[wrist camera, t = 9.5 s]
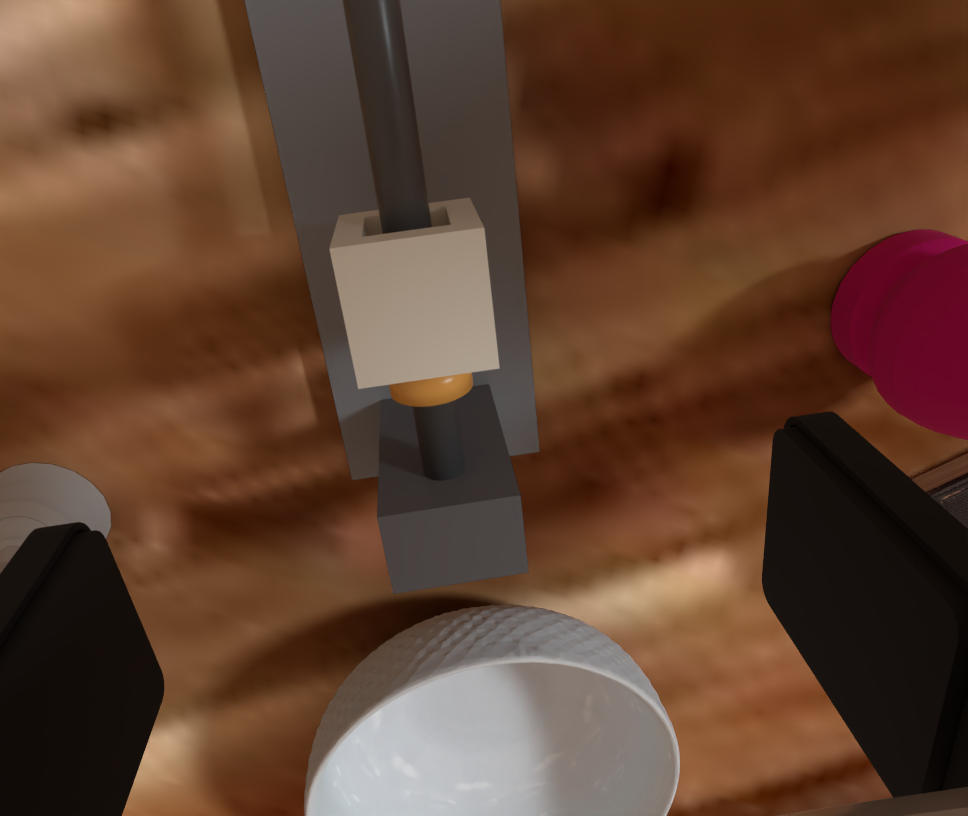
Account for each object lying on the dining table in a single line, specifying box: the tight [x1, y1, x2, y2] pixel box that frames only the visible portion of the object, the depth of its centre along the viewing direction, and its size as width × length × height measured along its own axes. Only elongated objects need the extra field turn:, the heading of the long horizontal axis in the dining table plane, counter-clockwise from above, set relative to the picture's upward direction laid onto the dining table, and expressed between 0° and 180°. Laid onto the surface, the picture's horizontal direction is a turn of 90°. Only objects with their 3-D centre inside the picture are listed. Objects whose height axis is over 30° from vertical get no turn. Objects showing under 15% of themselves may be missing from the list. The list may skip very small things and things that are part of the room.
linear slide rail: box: [244, 0, 540, 594], centre depth 22 cm, size 8×28×9 cm, turn 6°
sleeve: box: [329, 198, 500, 389], centre depth 22 cm, size 4×4×4 cm
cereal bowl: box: [304, 605, 680, 816], centre depth 36 cm, size 17×17×7 cm
